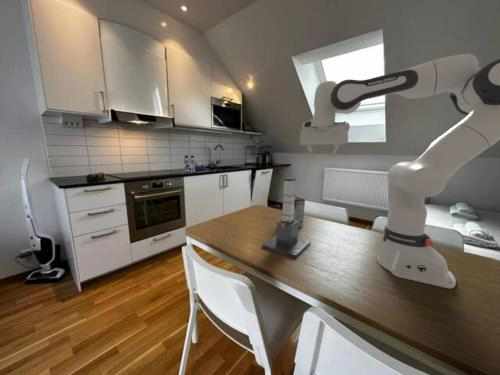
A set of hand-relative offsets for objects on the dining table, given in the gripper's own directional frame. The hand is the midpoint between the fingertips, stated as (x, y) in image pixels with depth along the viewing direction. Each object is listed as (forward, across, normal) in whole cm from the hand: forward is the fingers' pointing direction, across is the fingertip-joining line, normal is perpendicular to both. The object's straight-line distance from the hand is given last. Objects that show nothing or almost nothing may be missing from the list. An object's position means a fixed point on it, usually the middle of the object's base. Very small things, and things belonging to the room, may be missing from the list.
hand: (321, 155), depth 91 cm
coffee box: (+41, +18, -14) cm, 47 cm away
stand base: (+40, +9, +13) cm, 44 cm away
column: (+32, +9, +13) cm, 36 cm away
